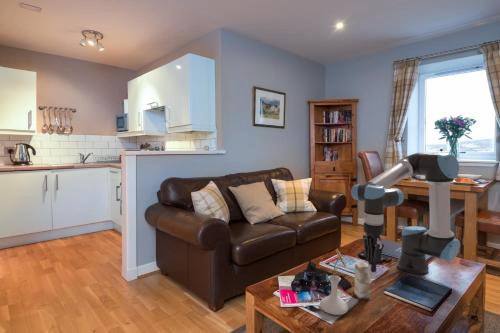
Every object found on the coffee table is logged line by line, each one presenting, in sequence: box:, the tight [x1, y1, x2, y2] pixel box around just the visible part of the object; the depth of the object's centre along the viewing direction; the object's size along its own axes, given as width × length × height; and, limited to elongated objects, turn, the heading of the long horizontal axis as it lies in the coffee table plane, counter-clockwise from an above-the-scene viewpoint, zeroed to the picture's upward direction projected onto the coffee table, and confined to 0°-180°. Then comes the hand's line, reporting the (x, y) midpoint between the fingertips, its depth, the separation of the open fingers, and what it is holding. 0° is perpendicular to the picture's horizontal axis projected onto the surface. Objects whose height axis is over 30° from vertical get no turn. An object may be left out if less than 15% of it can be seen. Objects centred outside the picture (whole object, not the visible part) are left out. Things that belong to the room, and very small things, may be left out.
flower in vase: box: [319, 248, 349, 316], centre depth 120 cm, size 13×11×25 cm
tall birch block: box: [353, 261, 372, 301], centre depth 129 cm, size 5×5×15 cm
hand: (371, 278), depth 121 cm, fingers closed
